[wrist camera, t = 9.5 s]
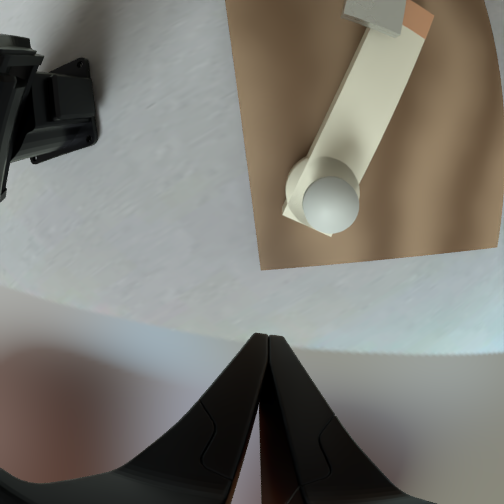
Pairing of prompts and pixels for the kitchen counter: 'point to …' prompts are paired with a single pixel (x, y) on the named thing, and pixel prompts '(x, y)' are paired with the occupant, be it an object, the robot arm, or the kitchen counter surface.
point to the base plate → (393, 140)
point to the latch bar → (354, 126)
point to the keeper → (376, 14)
